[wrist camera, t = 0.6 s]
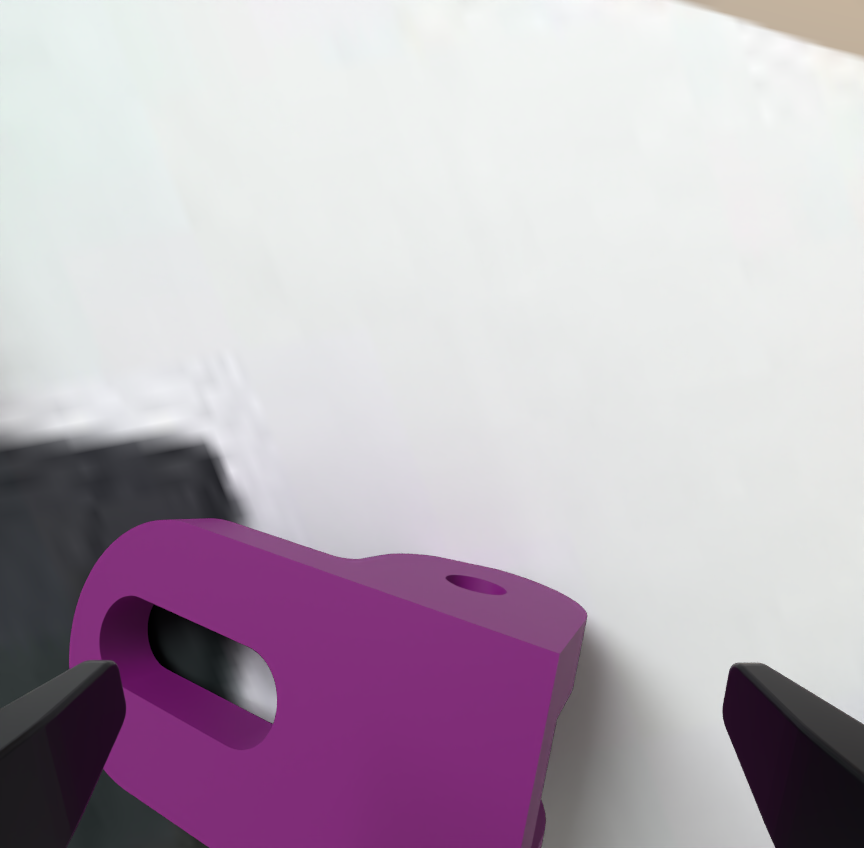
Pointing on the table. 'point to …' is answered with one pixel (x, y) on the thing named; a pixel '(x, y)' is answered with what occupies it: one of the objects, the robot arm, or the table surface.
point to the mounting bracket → (334, 691)
